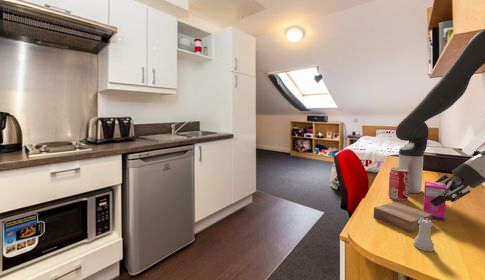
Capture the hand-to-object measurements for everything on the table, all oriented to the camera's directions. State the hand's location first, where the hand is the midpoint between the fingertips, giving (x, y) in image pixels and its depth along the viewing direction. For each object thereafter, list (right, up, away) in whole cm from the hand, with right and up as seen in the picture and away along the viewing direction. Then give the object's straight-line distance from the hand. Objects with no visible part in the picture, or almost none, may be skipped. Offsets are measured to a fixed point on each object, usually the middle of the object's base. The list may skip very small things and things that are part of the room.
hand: (428, 200), depth 79 cm
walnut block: (-12, -7, -3) cm, 14 cm away
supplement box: (+2, -5, 0) cm, 6 cm away
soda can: (+1, -4, +17) cm, 18 cm away
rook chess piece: (-17, -8, -18) cm, 26 cm away
